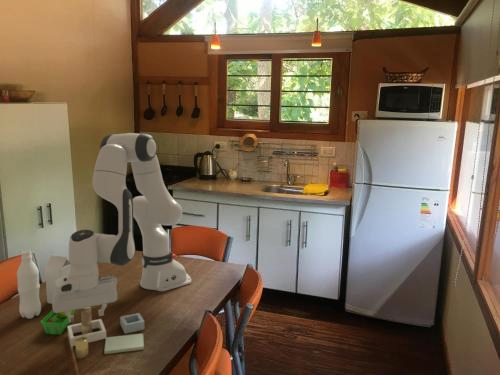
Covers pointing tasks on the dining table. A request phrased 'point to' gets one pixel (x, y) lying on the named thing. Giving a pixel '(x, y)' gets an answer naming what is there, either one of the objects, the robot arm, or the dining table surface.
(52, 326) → the fruit basket
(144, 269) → the robot arm
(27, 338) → the dining table surface
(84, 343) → the cylinder
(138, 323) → the socket block
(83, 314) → the dowel
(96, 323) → the tray
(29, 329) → the dining table surface
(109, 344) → the plate board
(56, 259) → the milk carton
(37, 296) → the water bottle
